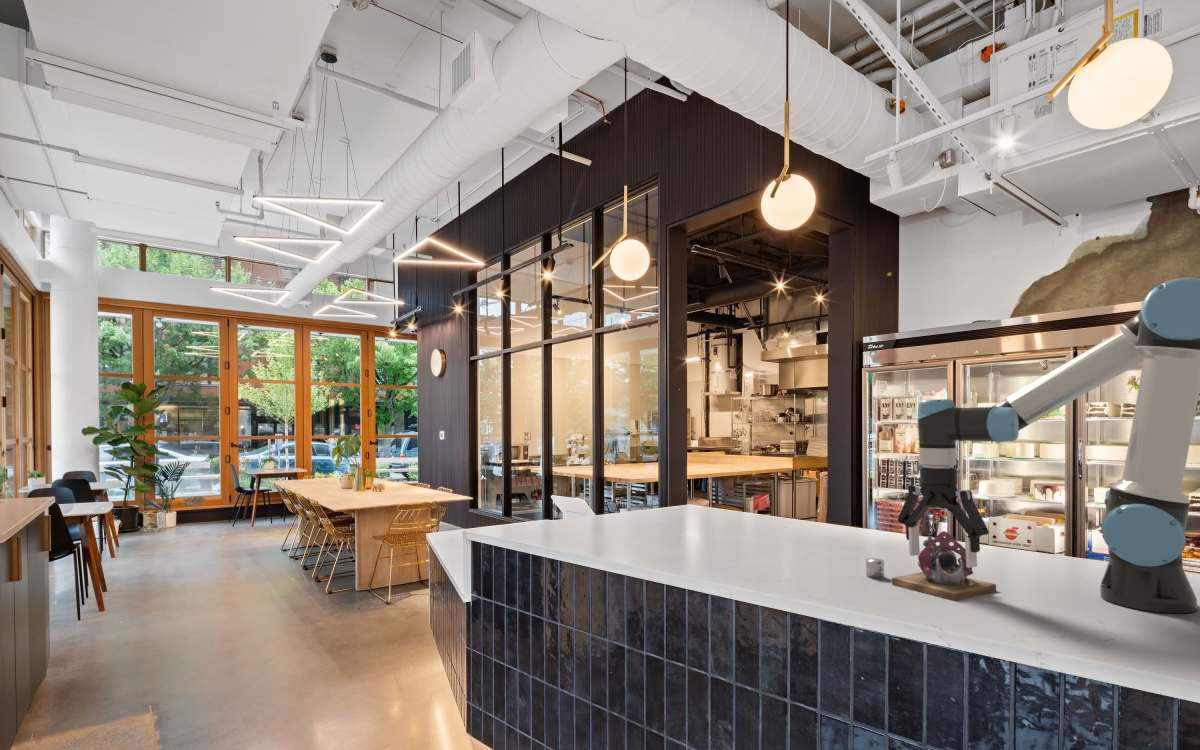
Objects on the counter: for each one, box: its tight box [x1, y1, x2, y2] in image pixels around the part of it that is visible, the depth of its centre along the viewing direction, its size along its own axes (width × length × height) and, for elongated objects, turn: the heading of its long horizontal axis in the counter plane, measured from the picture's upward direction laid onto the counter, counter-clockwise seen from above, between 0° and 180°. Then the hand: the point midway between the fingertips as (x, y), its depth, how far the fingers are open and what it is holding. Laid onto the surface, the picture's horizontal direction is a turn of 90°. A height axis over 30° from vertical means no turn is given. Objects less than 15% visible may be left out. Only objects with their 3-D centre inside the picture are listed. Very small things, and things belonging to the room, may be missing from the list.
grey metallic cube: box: [865, 557, 885, 580], centre depth 153 cm, size 4×4×4 cm
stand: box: [891, 571, 997, 602], centre depth 143 cm, size 15×15×2 cm
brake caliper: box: [917, 530, 974, 586], centre depth 144 cm, size 11×11×12 cm
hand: (942, 560), depth 144 cm, fingers open, 13 cm apart
